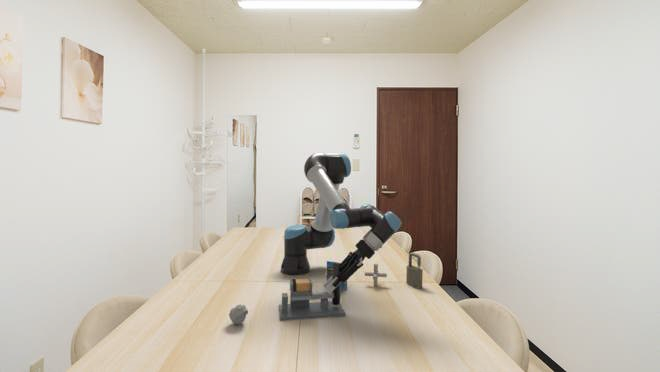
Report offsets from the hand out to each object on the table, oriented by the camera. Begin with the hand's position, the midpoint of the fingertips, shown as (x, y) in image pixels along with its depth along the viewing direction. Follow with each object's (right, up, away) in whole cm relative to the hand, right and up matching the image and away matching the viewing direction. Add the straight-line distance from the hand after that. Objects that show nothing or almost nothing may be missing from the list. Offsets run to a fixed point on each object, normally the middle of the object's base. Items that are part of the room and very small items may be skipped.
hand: (326, 289), depth 136 cm
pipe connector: (+23, -7, +29) cm, 37 cm away
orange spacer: (-9, -1, -2) cm, 9 cm away
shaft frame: (-6, -8, -1) cm, 10 cm away
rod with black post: (-4, -6, 0) cm, 7 cm away
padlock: (+41, -7, +30) cm, 51 cm away
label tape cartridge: (+5, -7, +26) cm, 27 cm away
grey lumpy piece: (-30, -9, -12) cm, 34 cm away
